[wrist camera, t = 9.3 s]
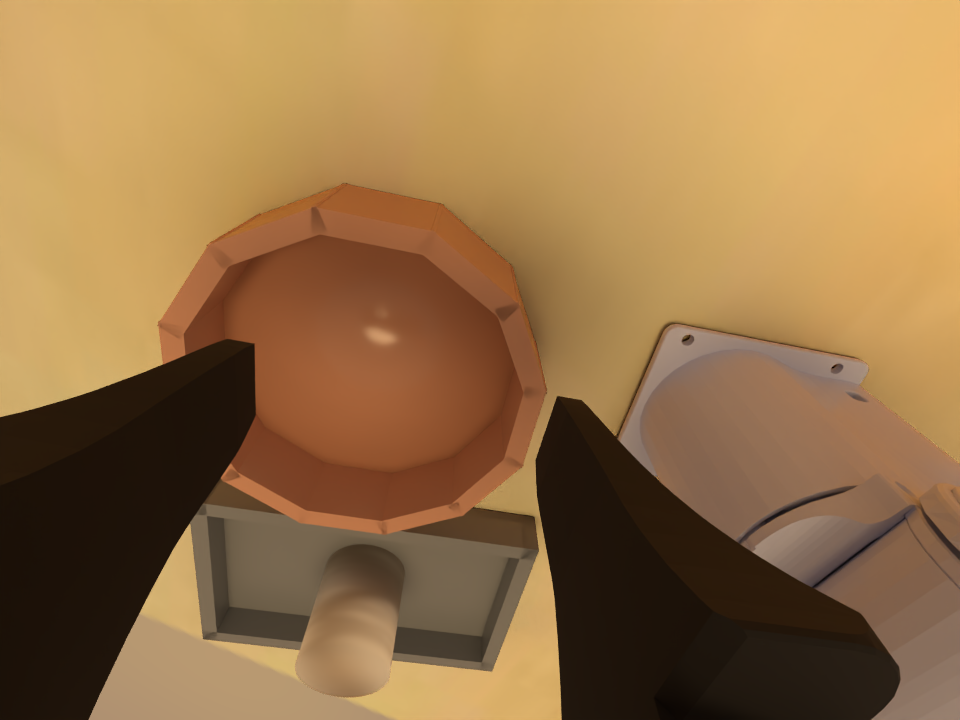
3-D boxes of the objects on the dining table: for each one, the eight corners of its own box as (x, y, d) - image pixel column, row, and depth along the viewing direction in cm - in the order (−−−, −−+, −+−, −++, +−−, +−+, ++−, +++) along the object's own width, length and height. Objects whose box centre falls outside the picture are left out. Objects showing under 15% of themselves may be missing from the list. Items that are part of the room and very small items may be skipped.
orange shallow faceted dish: (569, 229, 19) (589, 262, 16) (493, 487, 26) (495, 550, 22) (205, 153, 18) (138, 169, 14) (222, 446, 24) (179, 506, 21)
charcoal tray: (534, 516, 27) (538, 550, 25) (491, 636, 32) (491, 671, 30) (210, 469, 25) (187, 501, 23) (220, 603, 30) (203, 639, 28)
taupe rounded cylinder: (399, 543, 27) (383, 643, 22) (408, 594, 29) (395, 696, 24) (319, 545, 27) (285, 645, 22) (334, 596, 29) (306, 698, 24)
